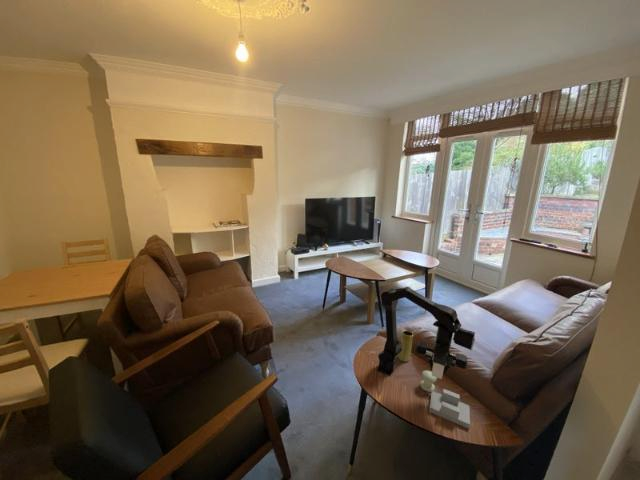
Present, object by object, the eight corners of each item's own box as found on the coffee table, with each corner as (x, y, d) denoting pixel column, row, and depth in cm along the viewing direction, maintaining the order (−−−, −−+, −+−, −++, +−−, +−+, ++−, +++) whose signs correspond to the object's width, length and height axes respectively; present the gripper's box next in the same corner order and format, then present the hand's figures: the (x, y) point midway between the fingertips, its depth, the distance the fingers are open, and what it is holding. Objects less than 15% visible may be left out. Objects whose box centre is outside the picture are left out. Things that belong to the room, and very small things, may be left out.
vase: (410, 363, 132) (415, 337, 129) (398, 360, 133) (402, 335, 130) (409, 355, 138) (413, 331, 135) (397, 353, 139) (401, 328, 136)
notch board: (428, 411, 103) (430, 400, 102) (431, 394, 112) (433, 384, 111) (469, 428, 97) (471, 417, 96) (468, 409, 106) (470, 399, 105)
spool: (419, 388, 115) (421, 376, 114) (421, 380, 120) (423, 368, 119) (433, 394, 112) (436, 382, 111) (435, 385, 118) (437, 373, 116)
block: (431, 375, 109) (433, 362, 108) (432, 369, 112) (434, 357, 111) (441, 379, 107) (444, 366, 106) (442, 373, 111) (444, 361, 109)
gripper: (416, 339, 104) (410, 374, 107) (470, 357, 95) (462, 394, 98) (420, 327, 114) (415, 359, 117) (469, 342, 105) (462, 376, 108)
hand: (437, 372), depth 110 cm, fingers closed on block, 4 cm apart
